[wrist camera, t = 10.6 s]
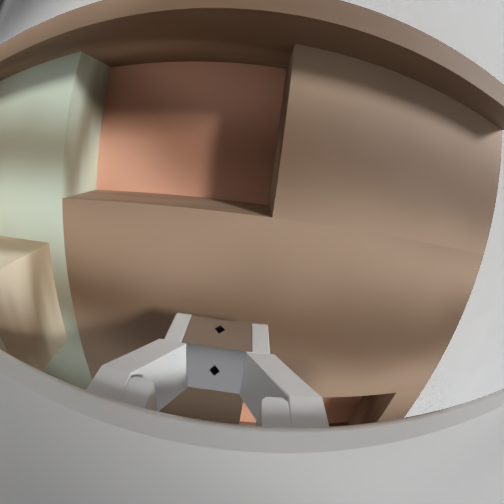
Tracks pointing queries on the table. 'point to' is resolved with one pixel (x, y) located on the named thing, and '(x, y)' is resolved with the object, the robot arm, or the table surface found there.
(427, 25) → the table surface
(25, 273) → the block
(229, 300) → the box
